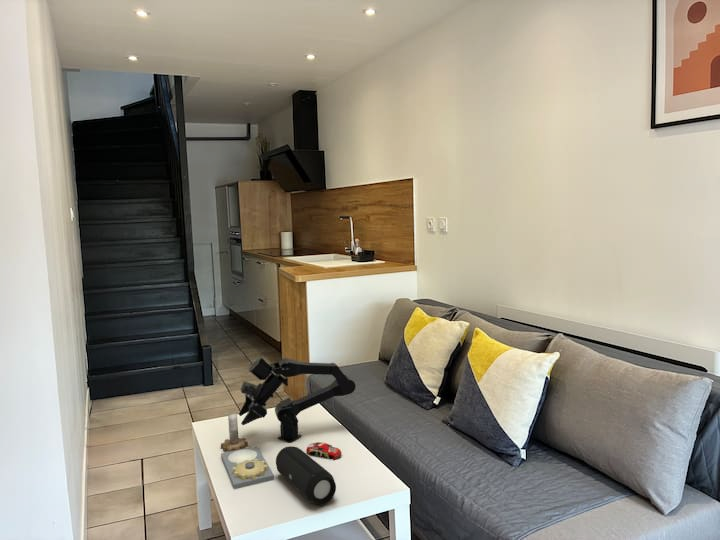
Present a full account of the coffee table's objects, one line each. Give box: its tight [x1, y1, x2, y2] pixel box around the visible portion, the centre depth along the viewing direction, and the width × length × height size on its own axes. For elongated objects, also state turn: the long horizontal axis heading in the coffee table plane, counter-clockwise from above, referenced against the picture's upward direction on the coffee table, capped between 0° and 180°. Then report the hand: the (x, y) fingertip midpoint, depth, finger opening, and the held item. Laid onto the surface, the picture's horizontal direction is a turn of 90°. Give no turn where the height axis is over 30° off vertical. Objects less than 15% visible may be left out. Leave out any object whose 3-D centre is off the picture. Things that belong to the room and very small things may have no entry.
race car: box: [305, 442, 342, 460], centre depth 193 cm, size 13×5×4 cm, turn 64°
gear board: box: [220, 445, 275, 490], centre depth 184 cm, size 24×13×4 cm, turn 24°
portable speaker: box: [275, 445, 337, 506], centre depth 170 cm, size 26×10×10 cm, turn 33°
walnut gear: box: [220, 412, 249, 453], centre depth 200 cm, size 10×10×12 cm
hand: (240, 419), depth 201 cm, fingers open, 9 cm apart
